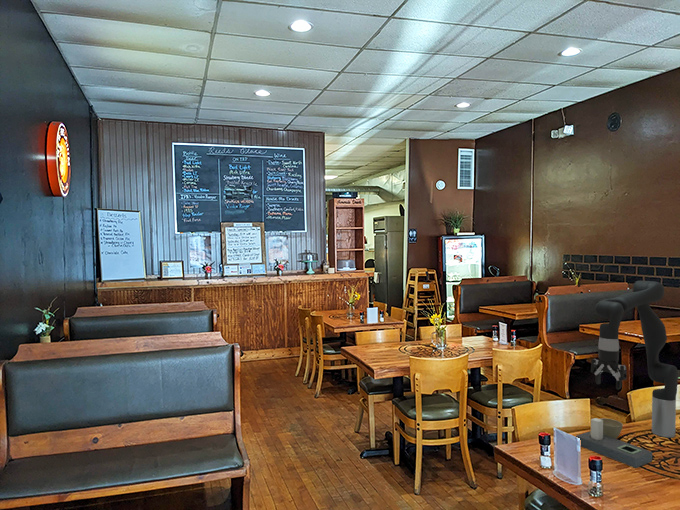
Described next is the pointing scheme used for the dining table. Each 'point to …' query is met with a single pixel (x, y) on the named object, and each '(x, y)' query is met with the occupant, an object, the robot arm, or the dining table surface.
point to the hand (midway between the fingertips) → (608, 386)
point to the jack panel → (616, 450)
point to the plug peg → (596, 429)
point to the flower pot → (611, 427)
